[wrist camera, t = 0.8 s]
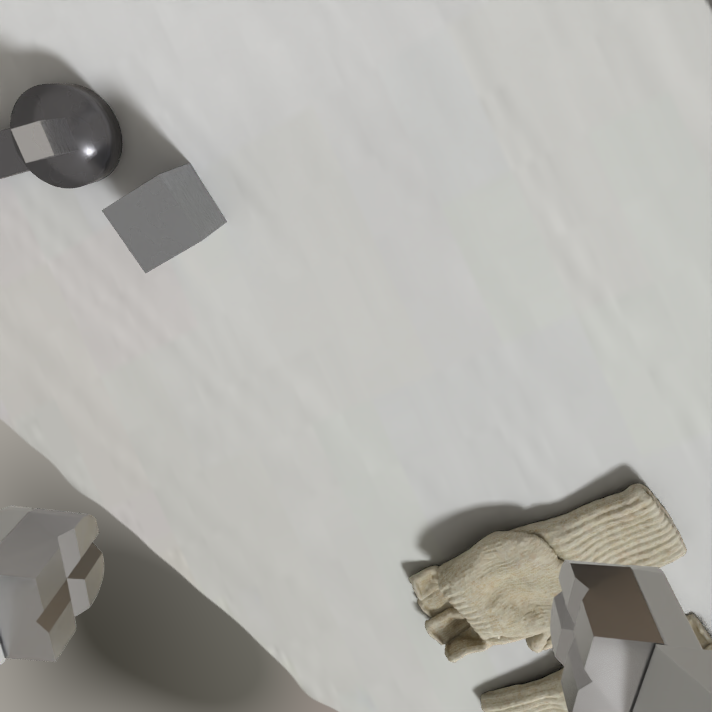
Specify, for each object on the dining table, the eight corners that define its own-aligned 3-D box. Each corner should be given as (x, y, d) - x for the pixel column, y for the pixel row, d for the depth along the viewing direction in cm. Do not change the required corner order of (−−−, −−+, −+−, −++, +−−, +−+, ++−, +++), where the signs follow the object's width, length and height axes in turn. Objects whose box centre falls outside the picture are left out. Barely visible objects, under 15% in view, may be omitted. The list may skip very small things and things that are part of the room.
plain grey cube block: (138, 195, 47) (101, 210, 41) (189, 162, 45) (158, 174, 40) (176, 251, 48) (145, 273, 43) (226, 221, 47) (201, 240, 42)
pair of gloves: (740, 684, 63) (767, 734, 58) (507, 740, 70) (513, 788, 65) (650, 462, 53) (673, 500, 48) (388, 552, 60) (385, 593, 55)
